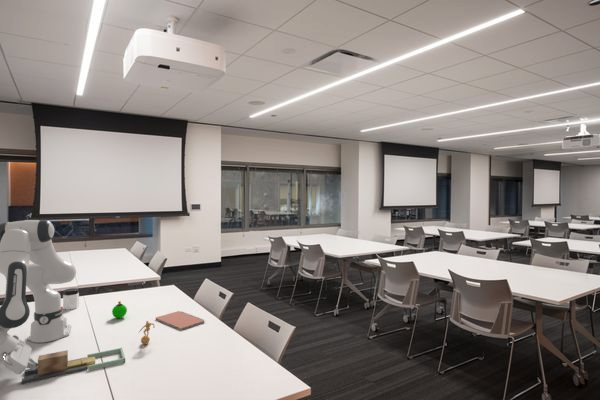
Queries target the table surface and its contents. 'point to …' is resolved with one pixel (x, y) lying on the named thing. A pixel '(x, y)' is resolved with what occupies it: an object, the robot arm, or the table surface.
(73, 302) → the jar
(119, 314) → the ornament
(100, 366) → the tray
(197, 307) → the table surface
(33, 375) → the slot bed
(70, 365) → the brass chip
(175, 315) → the notebook
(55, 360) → the brown wooden block
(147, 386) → the table surface
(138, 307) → the table surface
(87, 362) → the brass chip
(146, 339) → the figurine
